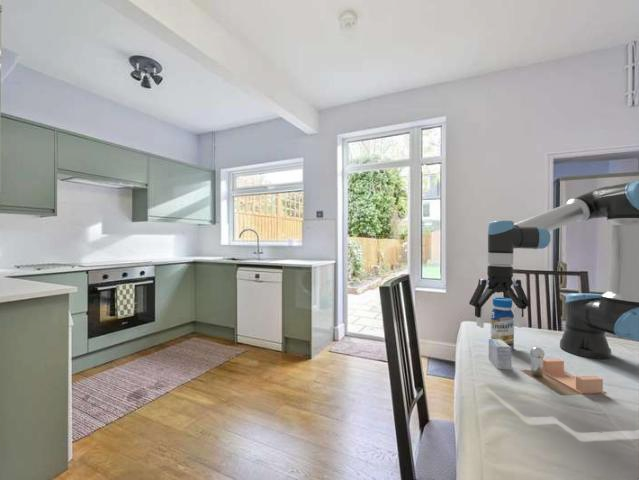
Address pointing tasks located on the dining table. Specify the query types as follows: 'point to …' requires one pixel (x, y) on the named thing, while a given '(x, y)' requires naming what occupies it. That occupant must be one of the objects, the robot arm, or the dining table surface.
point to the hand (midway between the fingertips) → (498, 326)
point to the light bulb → (537, 362)
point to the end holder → (572, 378)
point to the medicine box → (500, 354)
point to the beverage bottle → (502, 321)
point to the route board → (553, 384)
